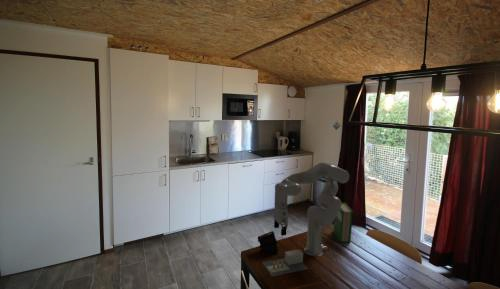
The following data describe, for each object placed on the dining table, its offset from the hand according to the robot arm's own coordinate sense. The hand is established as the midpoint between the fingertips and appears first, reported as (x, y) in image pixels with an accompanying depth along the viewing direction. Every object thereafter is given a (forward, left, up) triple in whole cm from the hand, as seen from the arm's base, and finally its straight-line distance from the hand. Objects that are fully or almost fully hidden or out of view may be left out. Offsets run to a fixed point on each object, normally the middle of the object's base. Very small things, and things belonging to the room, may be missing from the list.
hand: (280, 231), depth 153 cm
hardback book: (-61, -17, -21) cm, 67 cm away
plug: (-12, +3, -20) cm, 23 cm away
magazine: (+2, -12, -21) cm, 25 cm away
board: (-2, +5, -21) cm, 22 cm away
